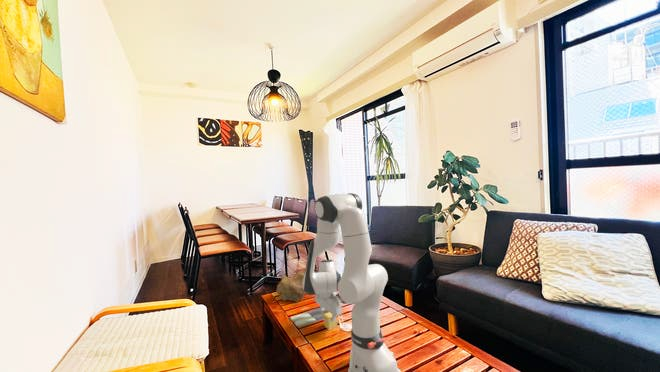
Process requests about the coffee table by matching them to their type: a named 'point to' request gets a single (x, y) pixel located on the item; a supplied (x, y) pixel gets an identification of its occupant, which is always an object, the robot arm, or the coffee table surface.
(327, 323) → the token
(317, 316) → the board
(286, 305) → the coffee table surface
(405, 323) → the coffee table surface
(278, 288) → the rough brown rock
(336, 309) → the robot arm
